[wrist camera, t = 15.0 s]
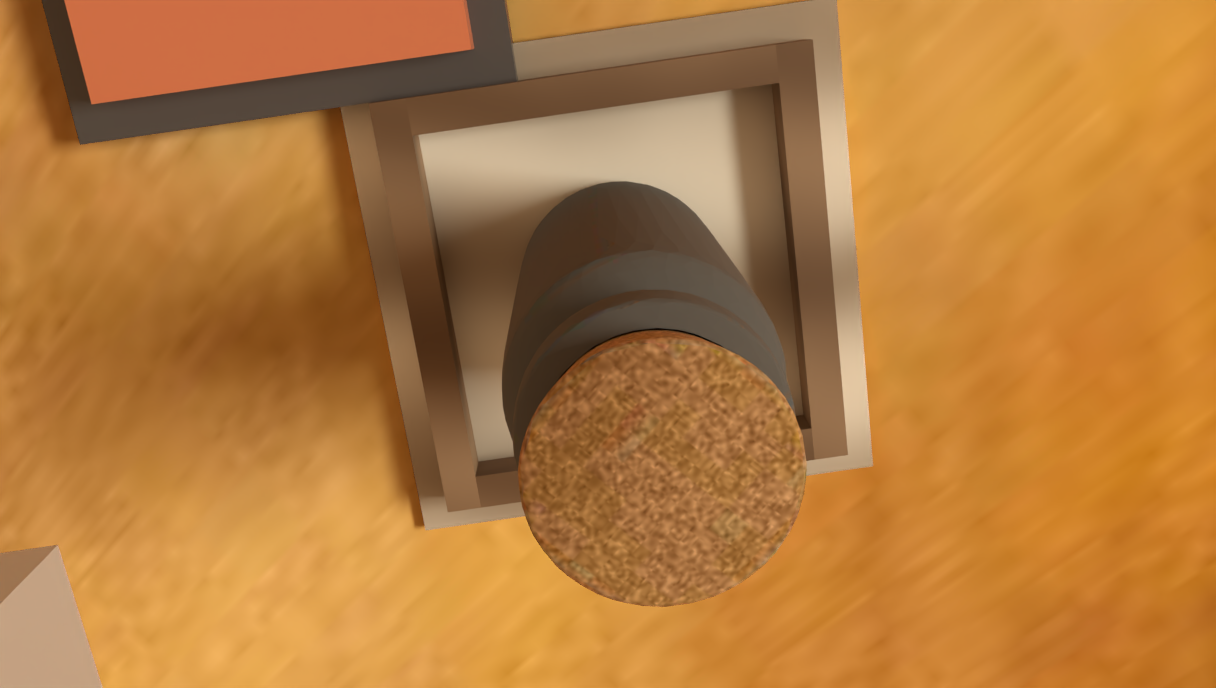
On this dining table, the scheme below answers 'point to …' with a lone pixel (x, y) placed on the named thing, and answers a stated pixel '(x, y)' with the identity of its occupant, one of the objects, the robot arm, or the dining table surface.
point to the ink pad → (265, 57)
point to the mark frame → (599, 153)
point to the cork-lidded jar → (647, 402)
